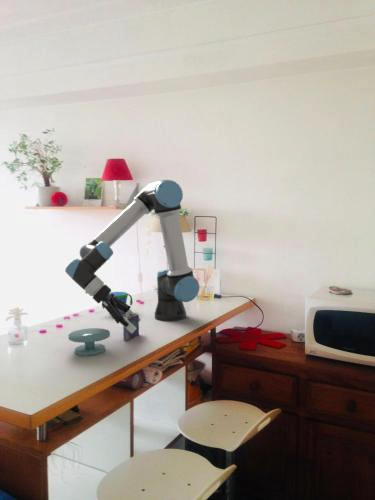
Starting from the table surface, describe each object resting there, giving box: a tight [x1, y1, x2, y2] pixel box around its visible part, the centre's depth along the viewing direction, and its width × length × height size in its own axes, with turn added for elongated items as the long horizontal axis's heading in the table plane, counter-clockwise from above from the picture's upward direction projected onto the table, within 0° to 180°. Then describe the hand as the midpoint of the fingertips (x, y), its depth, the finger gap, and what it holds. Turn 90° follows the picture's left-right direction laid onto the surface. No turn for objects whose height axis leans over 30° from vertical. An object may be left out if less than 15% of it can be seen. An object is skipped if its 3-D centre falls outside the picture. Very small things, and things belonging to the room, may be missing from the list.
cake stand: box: [68, 327, 111, 357], centre depth 165 cm, size 15×15×6 cm
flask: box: [122, 312, 140, 342], centre depth 180 cm, size 9×3×11 cm, turn 151°
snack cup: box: [101, 291, 134, 315], centre depth 222 cm, size 16×10×10 cm
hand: (136, 326), depth 180 cm, fingers open, 13 cm apart
